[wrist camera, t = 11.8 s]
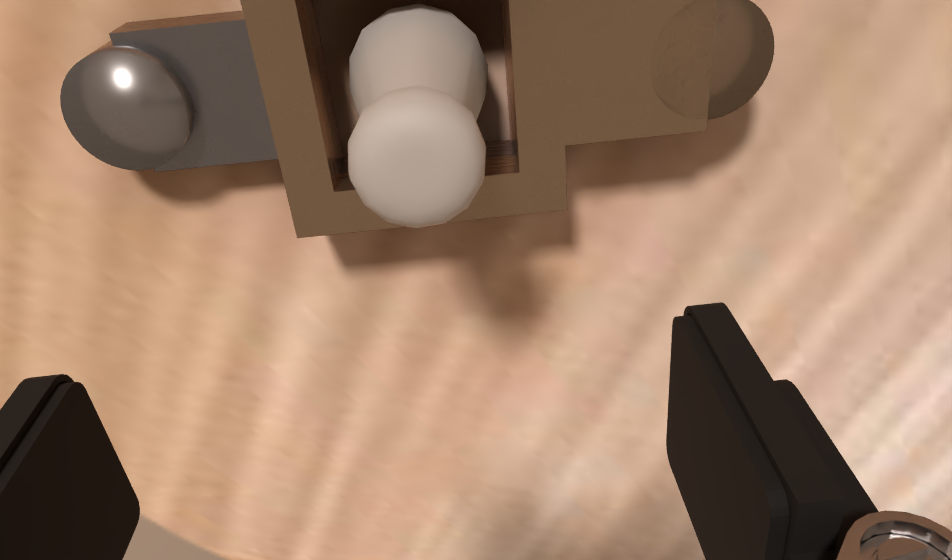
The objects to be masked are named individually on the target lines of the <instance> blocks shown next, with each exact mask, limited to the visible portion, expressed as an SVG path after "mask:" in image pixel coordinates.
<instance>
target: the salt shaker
mask: <svg viewBox="0 0 952 560" xmlns="http://www.w3.org/2000/svg"><path fill="white" fill-rule="evenodd" d="M487 67H488V64H487V62H486V59H485V57H484V54H483V52H482V49H481V47H480V44H479V42H478V39H477V36H476V35H475V34H474V33H473V32H472V31H471V30H470V29H469V28H468V27H467V26H466V25H464V24H463V23H462V22H461V21H460V20H459V19H458V18H457V17H456V16H455V15H453V14H452V13H451V12H449V11H446V10H442V9H439V8H436V7H432V6H429V5H425V4H422V3H418V4H413V5H407V6H402V7H397V8H392V9H389V10H387V11H386V12H385V13H383V14H382V15H381V16H379V17H378V18H377V19H375V20H374V21H373V22H371V23H370V24H369V25H368V26H366V27H365V28H364V29H362V31H361V33H360V36H359V38H358V40H357V42H356V45H355V47H354V49H353V52H352V54H351V56H350V92H351V95H352V98H353V101H354V104H355V107H356V110H357V113H358V116H359V120H358V122H357V124H356V126H355V128H354V130H353V132H352V134H351V137H350V139H349V141H348V172H349V177H350V180H351V182H352V184H353V186H354V187H355V189H356V191H357V193H358V194H359V196H360V198H361V200H362V202H363V203H364V205H365V206H367V207H368V208H369V209H371V210H372V211H373V212H375V213H376V214H377V215H379V216H380V217H381V218H383V219H384V220H385V221H387V222H389V223H394V224H398V225H403V226H407V227H412V228H421V227H427V226H433V225H439V224H445V223H446V222H447V221H449V220H450V219H452V218H453V217H455V216H456V215H458V214H459V213H461V212H462V211H463V210H465V209H466V208H468V206H469V205H470V203H471V201H472V200H473V198H474V197H475V195H476V193H477V192H478V190H479V188H480V187H481V185H482V183H483V180H484V175H485V157H486V145H485V142H484V139H483V137H482V135H481V132H480V130H479V127H478V125H477V122H476V121H477V118H478V116H479V113H480V110H481V107H482V104H483V102H484V99H485V96H486V83H487Z"/></svg>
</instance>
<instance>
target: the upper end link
mask: <svg viewBox="0 0 952 560" xmlns="http://www.w3.org/2000/svg"><path fill="white" fill-rule="evenodd" d="M240 1H241V5H242V10H243V14H244V18H245V22H246V26H247V30H248V35H249V39H250V43H251V47H252V51H253V55H254V60H255V64H256V68H257V72H258V76H259V81H260V85H261V89H262V93H263V97H264V101H265V106H266V110H267V114H268V118H269V122H270V126H271V131H272V135H273V139H274V143H275V147H276V151H277V156H278V160H279V164H280V168H281V172H282V176H283V181H284V185H285V189H286V193H287V197H288V202H289V206H290V210H291V214H292V218H293V222H294V227H295V231H296V235H297V238H303V237H313V236H322V235H332V234H341V233H351V232H360V231H370V230H380V229H389V228H399V227H407V226H403V225H398V224H394V223H389V222H387V221H385V220H384V219H383V218H381V217H380V216H379V215H377V214H376V213H375V212H373V211H372V210H371V209H369V208H368V207H367V206H365V205H364V203H363V202H362V200H361V198H360V196H359V194H358V193H357V191H356V189H355V187H354V186H353V184H352V182H351V180H350V177H349V173H343V174H339V173H338V168H337V163H336V158H335V153H334V148H333V143H332V138H331V133H330V128H329V123H328V118H327V113H326V107H325V102H324V97H323V92H322V87H321V82H320V77H319V72H318V67H317V62H316V57H315V52H314V47H313V42H312V37H311V31H310V26H309V21H308V16H307V11H306V6H305V1H304V0H240ZM505 12H506V27H507V42H508V58H509V73H510V89H511V104H512V119H513V135H514V150H515V156H505V157H495V158H486V159H485V175H484V180H483V183H482V185H481V187H480V188H479V190H478V192H477V193H476V195H475V197H474V198H473V200H472V201H471V203H470V205H469V206H468V208H466V209H465V210H463V211H462V212H461V213H459V214H458V215H456V216H455V217H453V218H452V219H450V220H449V221H447V222H456V221H465V220H475V219H484V218H494V217H503V216H513V215H522V214H532V213H541V212H551V211H560V210H567V187H566V151H565V146H567V145H577V144H586V143H596V142H605V141H615V140H624V139H634V138H643V137H653V136H663V135H672V134H682V133H691V132H701V131H707V119H713V118H718V117H721V116H724V115H726V114H729V113H731V112H733V111H734V110H736V109H738V108H739V107H741V106H742V105H744V104H745V103H746V102H747V101H748V100H749V99H751V98H752V97H753V95H754V94H755V93H756V92H757V91H758V90H759V88H760V87H761V85H762V84H763V82H764V80H765V79H766V77H767V75H768V72H769V70H770V67H771V64H772V60H773V55H774V36H773V32H772V28H771V25H770V23H769V21H768V19H767V17H766V15H765V14H764V13H763V12H762V10H761V9H760V8H759V7H758V6H757V5H755V4H754V3H753V2H751V1H749V0H505Z"/></svg>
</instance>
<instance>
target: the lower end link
mask: <svg viewBox="0 0 952 560" xmlns="http://www.w3.org/2000/svg"><path fill="white" fill-rule="evenodd" d="M304 1H305V6H306V11H307V16H308V21H309V26H310V31H311V37H312V42H313V47H314V52H315V57H316V62H317V67H318V72H319V77H320V82H321V87H322V92H323V97H324V102H325V107H326V113H327V118H328V123H329V128H330V133H331V138H332V143H333V148H334V153H335V158H336V163H337V168H338V173H339V174H343V173H349V172H348V157H343V156H342V150H341V145H340V140H339V135H338V129H337V124H336V119H335V114H334V109H333V103H332V98H331V93H330V88H329V83H328V77H327V72H326V67H325V62H324V56H323V51H322V46H321V41H320V36H319V30H318V25H317V20H316V15H315V10H314V4H313V0H304ZM501 6H502V21H503V35H504V50H505V65H506V80H507V95H508V110H509V124H510V139H511V140H506V141H496V142H487V143H485V145H486V157H485V159H486V158H495V157H505V156H515V150H514V135H513V119H512V104H511V89H510V73H509V58H508V42H507V27H506V12H505V0H501ZM109 35H110V38H111V41H110V42H108V43H107V44H105V45H104V46H102V47H100V48H99V49H97V50H96V51H94V52H93V53H91V54H90V55H88V56H86V57H85V58H83V59H82V60H80V61H79V62H78V63H76V64H75V65H74V66H73V67H72V68H71V69H70V71H69V72H68V74H67V75H66V77H65V79H64V81H63V85H62V88H61V96H60V99H61V109H62V113H63V117H64V120H65V122H66V124H67V126H68V128H69V130H70V132H71V133H72V135H73V136H74V137H75V139H76V140H77V141H78V142H79V143H80V145H81V146H82V147H83V148H84V149H86V150H87V151H88V152H89V153H90V154H92V155H93V156H95V157H96V158H98V159H99V160H101V161H103V162H105V163H107V164H110V165H112V166H115V167H118V168H122V169H127V170H147V169H153V168H154V170H155V172H158V171H168V170H177V169H187V168H197V167H206V166H216V165H225V164H235V163H244V162H254V161H263V160H273V159H278V156H277V151H276V147H275V143H274V139H273V135H272V131H271V126H270V122H269V118H268V114H267V110H266V106H265V101H264V97H263V93H262V89H261V85H260V81H259V76H258V72H257V68H256V64H255V60H254V55H253V51H252V47H251V43H250V39H249V35H248V30H247V26H246V22H245V18H244V14H243V11H236V12H226V13H216V14H207V15H197V16H188V17H178V18H168V19H159V20H149V21H139V22H130V23H125V24H124V25H122V26H120V27H119V28H117V29H116V30H114V31H112V32H111V33H109Z"/></svg>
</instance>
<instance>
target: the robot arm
mask: <svg viewBox="0 0 952 560" xmlns="http://www.w3.org/2000/svg"><path fill="white" fill-rule="evenodd" d="M666 446H667V454H668V459H669V463H670V466H671V469H672V472H673V474H674V477H675V479H676V482H677V485H678V487H679V490H680V493H681V495H682V498H683V501H684V503H685V506H686V508H687V511H688V514H689V516H690V519H691V522H692V524H693V527H694V530H695V532H696V535H697V537H698V540H699V543H700V545H701V548H702V551H703V553H704V556H705V559H706V560H952V532H951V531H950V530H949V529H947V528H946V527H944V526H942V525H940V524H938V523H936V522H934V521H932V520H930V519H927V518H925V517H921V516H918V515H914V514H911V513H907V512H898V511H881V512H878V510H877V508H876V507H875V505H874V504H873V502H872V501H871V499H870V498H869V496H868V495H867V493H866V492H865V490H864V489H863V487H862V486H861V484H860V483H859V481H858V480H857V478H856V477H855V475H854V474H853V472H852V471H851V469H850V468H849V466H848V465H847V463H846V461H845V460H844V458H843V457H842V455H841V454H840V452H839V451H838V449H837V448H836V446H835V445H834V443H833V442H832V440H831V439H830V437H829V436H828V434H827V433H826V431H825V430H824V428H823V427H822V425H821V424H820V422H819V421H818V419H817V418H816V416H815V414H814V413H813V411H812V410H811V408H810V407H809V405H808V404H807V402H806V401H805V399H804V398H803V396H802V395H801V393H800V392H799V390H798V389H797V388H796V386H795V385H794V384H793V383H792V382H790V381H788V380H777V381H773V379H772V378H771V376H770V374H769V373H768V371H767V370H766V368H765V366H764V365H763V363H762V362H761V360H760V358H759V357H758V355H757V354H756V352H755V350H754V349H753V347H752V346H751V344H750V342H749V341H748V339H747V338H746V336H745V334H744V333H743V331H742V330H741V328H740V326H739V325H738V323H737V322H736V320H735V318H734V317H733V315H732V314H731V312H730V310H729V309H728V307H727V306H726V305H725V304H724V303H712V304H703V305H694V306H687V307H686V308H685V311H684V316H678V317H675V318H674V319H673V325H672V343H671V362H670V382H669V401H668V420H667V439H666ZM139 515H140V507H139V501H138V498H137V496H136V494H135V492H134V490H133V488H132V486H131V484H130V481H129V479H128V477H127V475H126V473H125V471H124V469H123V467H122V465H121V462H120V460H119V458H118V456H117V454H116V452H115V450H114V448H113V446H112V443H111V441H110V439H109V437H108V435H107V433H106V431H105V429H104V427H103V425H102V422H101V420H100V418H99V416H98V414H97V412H96V410H95V408H94V406H93V403H92V401H91V399H90V397H89V395H88V393H87V391H86V389H85V387H84V386H83V385H82V384H81V383H80V382H74V381H73V380H72V378H70V377H69V376H68V375H64V374H60V375H51V376H42V377H32V378H27V379H24V380H23V381H22V382H21V383H20V384H19V385H18V387H17V388H16V389H15V391H14V392H13V393H12V395H11V396H10V397H9V399H8V400H7V401H6V403H5V404H4V406H3V407H2V408H1V410H0V560H122V559H123V557H124V554H125V552H126V550H127V547H128V545H129V543H130V540H131V538H132V536H133V533H134V531H135V528H136V526H137V524H138V520H139Z"/></svg>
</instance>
